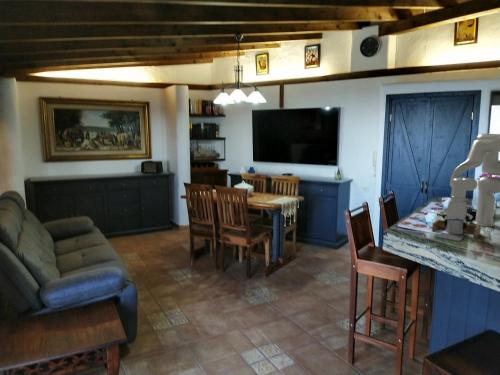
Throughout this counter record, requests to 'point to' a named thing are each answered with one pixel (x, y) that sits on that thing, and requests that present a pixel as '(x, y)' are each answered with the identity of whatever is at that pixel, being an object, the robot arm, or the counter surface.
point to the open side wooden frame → (468, 229)
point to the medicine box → (454, 226)
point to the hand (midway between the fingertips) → (454, 227)
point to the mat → (450, 236)
